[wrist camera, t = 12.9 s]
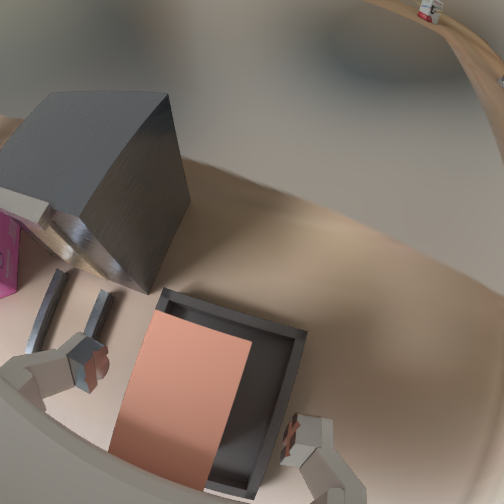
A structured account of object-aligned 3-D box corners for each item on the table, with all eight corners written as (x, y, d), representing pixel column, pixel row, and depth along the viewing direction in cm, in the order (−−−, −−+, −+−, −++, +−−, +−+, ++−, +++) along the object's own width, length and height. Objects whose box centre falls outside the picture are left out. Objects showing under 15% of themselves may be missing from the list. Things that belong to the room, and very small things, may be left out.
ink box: (425, 20, 65) (433, -2, 54) (416, 15, 66) (424, -7, 56) (437, 24, 66) (444, 3, 56) (428, 19, 68) (435, -2, 57)
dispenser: (109, 401, 15) (3, 405, 6) (15, 340, 16) (-79, 300, 7) (190, 200, 22) (167, 89, 13) (94, 177, 23) (49, 90, 13)
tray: (252, 489, 13) (253, 500, 12) (119, 443, 14) (108, 447, 12) (301, 336, 18) (307, 331, 16) (170, 295, 19) (163, 287, 17)
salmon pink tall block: (217, 449, 14) (196, 509, 6) (166, 431, 14) (103, 470, 6) (245, 360, 17) (252, 341, 8) (195, 344, 17) (154, 309, 9)
